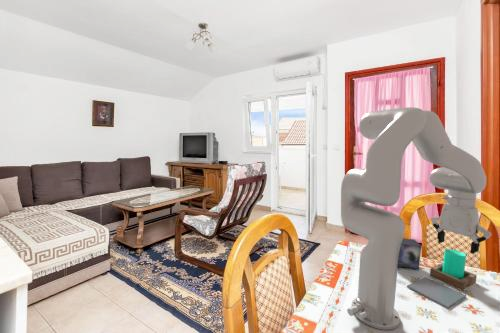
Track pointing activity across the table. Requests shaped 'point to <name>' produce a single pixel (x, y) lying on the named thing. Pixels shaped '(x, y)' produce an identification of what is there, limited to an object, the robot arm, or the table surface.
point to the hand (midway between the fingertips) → (456, 247)
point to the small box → (409, 254)
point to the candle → (454, 263)
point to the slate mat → (436, 292)
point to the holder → (453, 278)
